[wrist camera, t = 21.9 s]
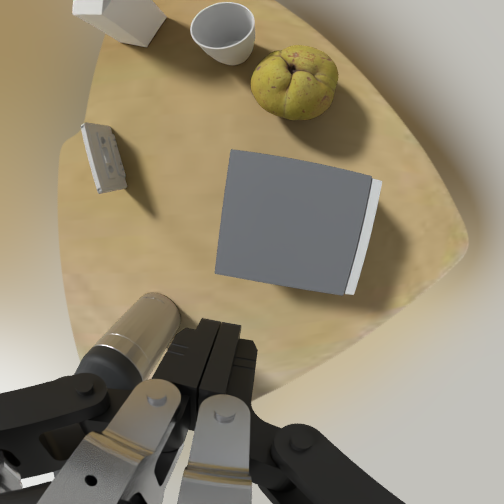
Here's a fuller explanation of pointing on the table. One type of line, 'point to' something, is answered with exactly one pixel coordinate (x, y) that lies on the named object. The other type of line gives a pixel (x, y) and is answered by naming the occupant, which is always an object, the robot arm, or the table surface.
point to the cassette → (103, 157)
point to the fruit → (295, 82)
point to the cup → (225, 32)
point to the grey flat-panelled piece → (364, 236)
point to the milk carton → (122, 18)
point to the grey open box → (290, 222)
